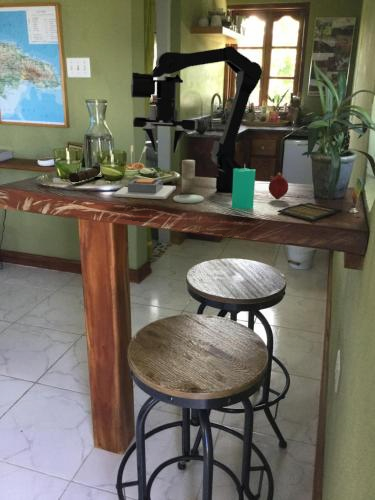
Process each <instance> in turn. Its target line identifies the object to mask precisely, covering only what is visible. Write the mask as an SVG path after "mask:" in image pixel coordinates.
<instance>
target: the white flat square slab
mask: <svg viewBox="0 0 375 500" xmlns="http://www.w3.org/2000/svg"><path fill="white" fill-rule="evenodd" d="M139 179H140V178H134V179H132V180H131V181H129V182H128V183H127V185H128V187H125V186H123V187H122V188H119V190H117V191H115V192H113V194H112V196H113V197H116V198H117V197H118V198H136V199H137V198H138V199H151V200H153V199H156V200H166V199H167V198H168V197H169V196H170V195H171V194H172V193H173V192H174V191H175V190H176V188H177V186H176V185H164V179H156V178H155V183H154V184H141V183H136V181H137V180H139Z"/></svg>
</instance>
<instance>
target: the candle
mask: <svg viewBox="0 0 375 500" xmlns="http://www.w3.org/2000/svg"><path fill="white" fill-rule="evenodd" d="M243 167H244V168H242V167H241V169H238V168H235V169H234V170H233V191H232V193H231V195H232V196H231V207H232V208H233V209H236V210H252V209H253V208H254V202H255V201H254V199H255V186H256V184H255V183H256V171H257V170H256V169H250V168H247V167H246V164H244V166H243Z"/></svg>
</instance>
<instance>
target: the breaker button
mask: <svg viewBox="0 0 375 500" xmlns="http://www.w3.org/2000/svg"><path fill="white" fill-rule="evenodd" d="M138 179H139V180H137V181H136V183H141V184H154V183H155V179H156V178H155V179H154V178H138Z"/></svg>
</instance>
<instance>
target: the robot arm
mask: <svg viewBox="0 0 375 500" xmlns="http://www.w3.org/2000/svg"><path fill="white" fill-rule="evenodd" d="M221 62H224V63H226V65H227V66H228V67H229V68H230V69H231V70H232V71H233V72H234V73H235V74H236V76H235V94H234V97H233V100H232V104H231V107H230V110H229V113H228V117H227V120H226V123H225V126H224V130H223V134H222V136H221V138H220V140H219V141H217V140H214V141H213V147H212V149H211V151H210V154H211V161H212V163H214V165H216V167H217V170H218V172H217V175H216V177H215V189H216V192H218V193H231V194H232V191H233V170H234V169H235V168H238V169H242V166H241V165H240V164H239V163H238V162H237V161H236V152H237V145H236V144H237V143H236V142H237V138H238V134H239V131H240V129H241V125H242V122H243V118H244V115H245V112H246V110H247V106H248V103H249V99H250V96H251V95H252V93H253V91H254V90H255V89H256V87H257V86H258V84H259V81H260V79H261V78H262V75H263V69H262V67H261V65H260V64H259V63H258V62H256V61H252V60H250V59H249V58H248V57H247V56H245V55H243V54H242V53H241V52H239V51H238V50H237V49H236V48H235V47H234V46H230V45H229V46H228V45H227V46H225V47H222V48H215V49H214V48H213V49H207V50H203V51H201V50H200V51H195V52H187V53H186V52H175V51H174V52H173V51H167V52H163V53H161V54H160V55H158V57H157V58H156V61H155V66H154V67H153V69H152V70H151V71H150V73H139V72H132V73H131V83H130V96H131V98H135V99H137V98H138V99H139V98H140V99H151V98H152V96H154V95H155V94H156V102H155V106H156V108H155V119H151V117H150V116H135V117H134V118H133V121H132V122H133V123H132V125H133V128H142V131H145V132H146V134H147V136H148V138H149V141H150V142H151V145H152V149H153V151H154V153H157V150H158V149H157V148H158V146H157V145H158V143H157V127H172V128H176V129H175V130H174V137H173V154H176V152H177V150H178V147H179V143H180V140H181V139H182V136H183V135H184V133H186V132H188V130H189V131H195V130H198V120H197V119H195V118H194V119H193V118H182V119H181V120H179V111H178V109H177V84H181V83H182V84H183V82H184V80H183V79H182V78H181V77H180V76H179V74H175V75H174V76H164V75H171V74H174V73H177V72H179V71H183V70H185V69H188V68H190V67H196V66H197V67H198V66H203V65H204V66H205V65H209V64H215V63H221ZM162 76H164V77H163V79H157V78H161V77H162ZM155 78H156V79H155Z"/></svg>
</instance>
